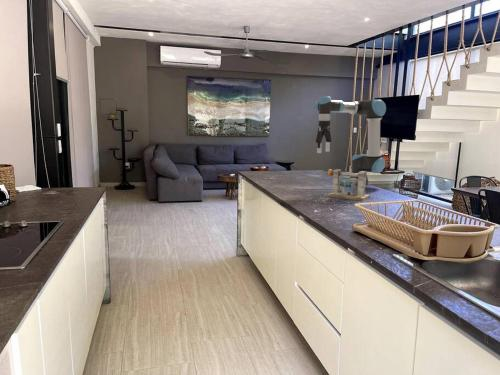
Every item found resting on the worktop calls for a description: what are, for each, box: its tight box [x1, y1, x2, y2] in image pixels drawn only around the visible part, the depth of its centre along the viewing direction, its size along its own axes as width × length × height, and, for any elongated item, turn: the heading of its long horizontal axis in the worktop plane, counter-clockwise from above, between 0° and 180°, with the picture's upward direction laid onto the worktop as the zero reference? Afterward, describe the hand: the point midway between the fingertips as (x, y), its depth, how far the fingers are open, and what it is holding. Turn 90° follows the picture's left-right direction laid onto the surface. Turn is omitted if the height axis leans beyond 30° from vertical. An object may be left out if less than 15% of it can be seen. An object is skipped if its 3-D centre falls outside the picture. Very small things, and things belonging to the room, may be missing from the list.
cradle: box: [326, 168, 371, 202], centre depth 248 cm, size 14×24×18 cm, turn 55°
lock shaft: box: [326, 168, 359, 178], centre depth 248 cm, size 5×24×5 cm, turn 55°
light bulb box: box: [339, 177, 358, 196], centre depth 249 cm, size 11×7×11 cm, turn 105°
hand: (323, 152), depth 255 cm, fingers open, 13 cm apart
